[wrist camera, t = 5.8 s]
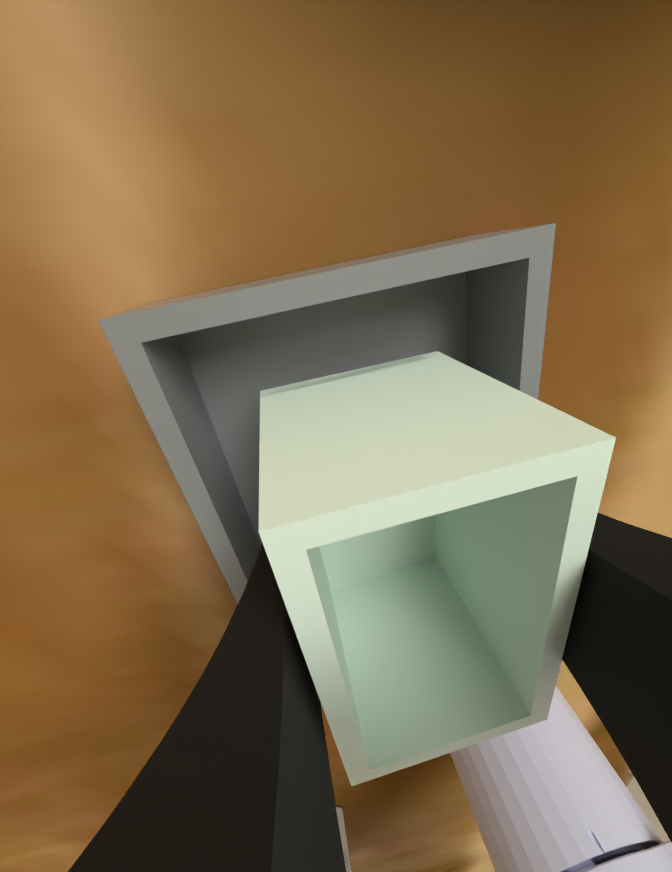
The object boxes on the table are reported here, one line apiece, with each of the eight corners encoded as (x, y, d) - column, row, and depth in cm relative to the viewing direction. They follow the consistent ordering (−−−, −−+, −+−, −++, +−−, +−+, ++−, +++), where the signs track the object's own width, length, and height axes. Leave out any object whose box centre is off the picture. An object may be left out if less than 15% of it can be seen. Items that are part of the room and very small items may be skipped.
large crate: (472, 538, 17) (517, 598, 14) (269, 595, 16) (270, 672, 13) (473, 234, 11) (555, 223, 8) (148, 303, 10) (98, 319, 7)
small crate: (443, 554, 13) (547, 719, 8) (317, 590, 13) (351, 786, 8) (437, 350, 10) (616, 438, 5) (260, 391, 9) (259, 532, 4)
